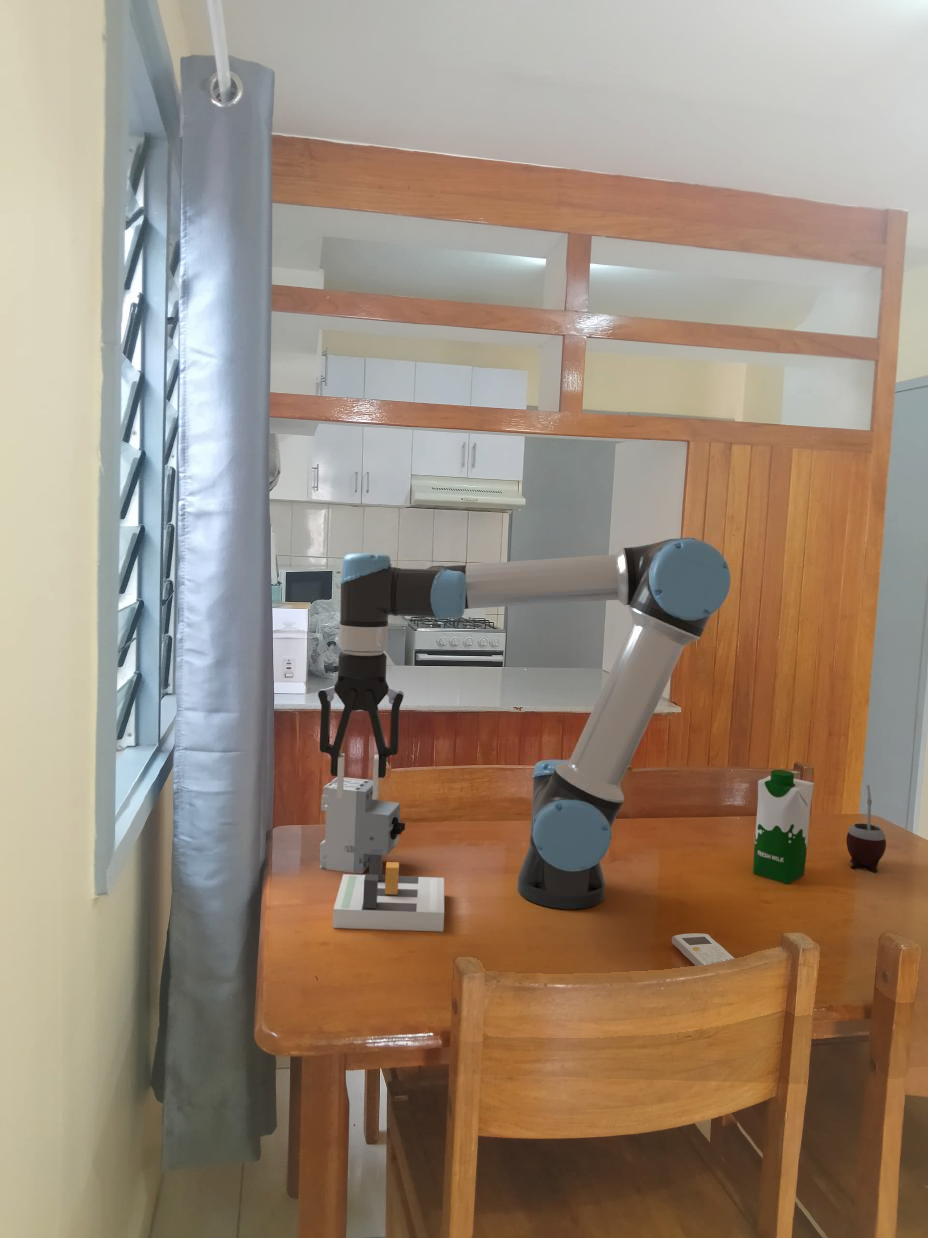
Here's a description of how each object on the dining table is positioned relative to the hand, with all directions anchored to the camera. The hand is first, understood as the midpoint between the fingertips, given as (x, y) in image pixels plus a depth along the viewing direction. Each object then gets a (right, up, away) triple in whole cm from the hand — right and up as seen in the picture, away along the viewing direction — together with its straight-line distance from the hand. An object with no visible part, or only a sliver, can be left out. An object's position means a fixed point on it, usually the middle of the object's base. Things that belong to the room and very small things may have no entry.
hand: (357, 796), depth 142 cm
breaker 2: (+2, -16, -4) cm, 17 cm away
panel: (+5, -19, +2) cm, 20 cm away
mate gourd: (+95, -20, +33) cm, 103 cm away
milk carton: (+76, -20, +26) cm, 83 cm away
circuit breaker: (-1, -17, +21) cm, 27 cm away
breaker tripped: (+5, -16, +2) cm, 17 cm away
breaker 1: (+2, -15, +7) cm, 17 cm away
